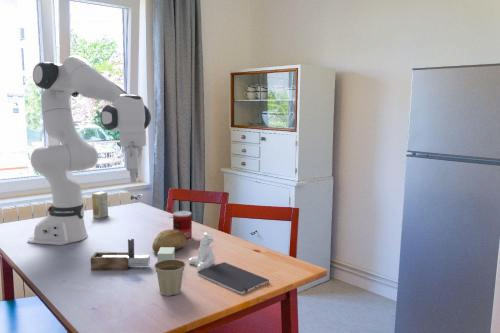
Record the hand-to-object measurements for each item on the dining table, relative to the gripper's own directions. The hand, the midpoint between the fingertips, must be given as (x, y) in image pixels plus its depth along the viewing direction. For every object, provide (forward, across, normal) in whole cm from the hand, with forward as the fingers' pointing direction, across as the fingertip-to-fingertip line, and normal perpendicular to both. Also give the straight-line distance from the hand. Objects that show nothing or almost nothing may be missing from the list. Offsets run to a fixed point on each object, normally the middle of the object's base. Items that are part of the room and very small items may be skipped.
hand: (134, 180), depth 151 cm
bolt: (+29, -6, +4) cm, 30 cm away
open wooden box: (+30, -5, +9) cm, 31 cm away
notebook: (+32, -21, -31) cm, 49 cm away
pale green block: (+30, -8, -10) cm, 32 cm away
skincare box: (+28, +63, +22) cm, 72 cm away
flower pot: (+31, -27, -11) cm, 43 cm away
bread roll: (+30, +10, -12) cm, 34 cm away
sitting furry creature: (+30, -8, -23) cm, 39 cm away
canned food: (+30, +23, -17) cm, 41 cm away
